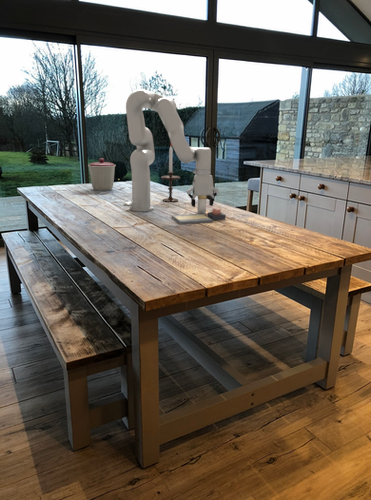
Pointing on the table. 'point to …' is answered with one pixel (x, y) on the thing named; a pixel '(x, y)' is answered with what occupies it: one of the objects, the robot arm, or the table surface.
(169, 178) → the candlestick
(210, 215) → the button housing
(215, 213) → the button
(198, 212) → the marker
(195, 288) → the table surface
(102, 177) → the canister
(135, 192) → the robot arm
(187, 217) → the board
